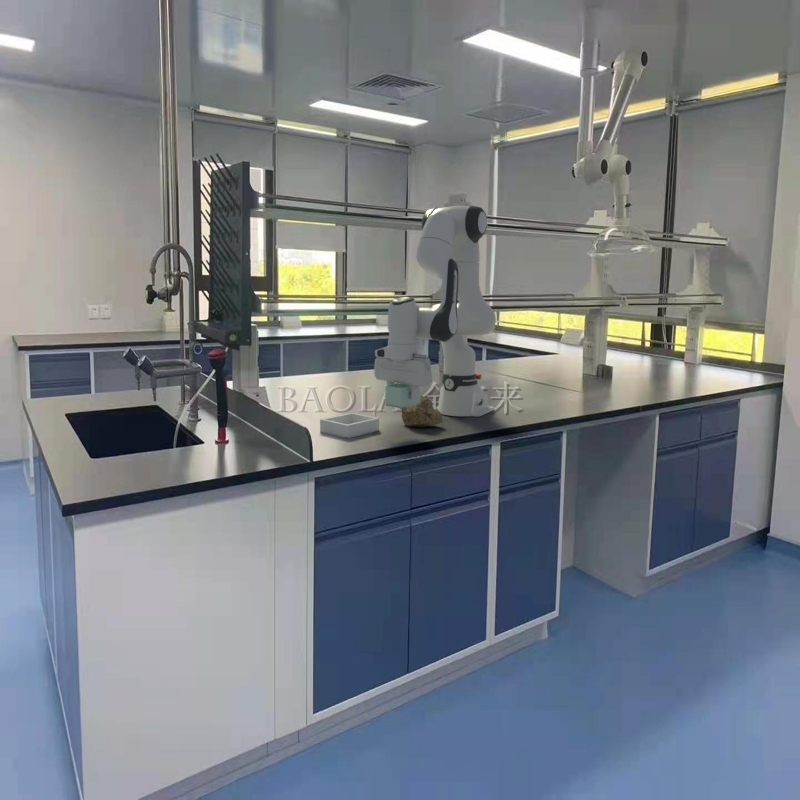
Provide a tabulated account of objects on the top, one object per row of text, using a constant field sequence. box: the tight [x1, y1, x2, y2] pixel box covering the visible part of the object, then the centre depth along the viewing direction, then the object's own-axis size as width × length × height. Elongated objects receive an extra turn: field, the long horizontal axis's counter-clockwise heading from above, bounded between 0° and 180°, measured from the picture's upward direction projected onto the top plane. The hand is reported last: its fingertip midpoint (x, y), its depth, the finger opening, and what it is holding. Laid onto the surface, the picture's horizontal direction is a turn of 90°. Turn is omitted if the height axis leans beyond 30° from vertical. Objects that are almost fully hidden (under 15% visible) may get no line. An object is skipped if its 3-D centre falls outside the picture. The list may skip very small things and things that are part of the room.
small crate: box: [385, 382, 421, 409], centre depth 202 cm, size 9×6×6 cm, turn 140°
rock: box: [400, 394, 443, 428], centre depth 217 cm, size 11×12×10 cm
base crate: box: [319, 412, 380, 440], centre depth 207 cm, size 14×12×4 cm
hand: (402, 397), depth 202 cm, fingers closed on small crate, 6 cm apart
